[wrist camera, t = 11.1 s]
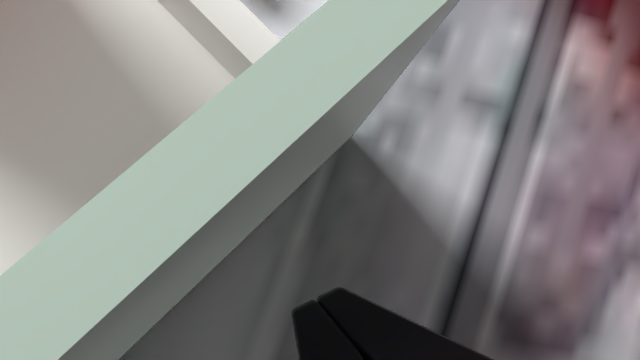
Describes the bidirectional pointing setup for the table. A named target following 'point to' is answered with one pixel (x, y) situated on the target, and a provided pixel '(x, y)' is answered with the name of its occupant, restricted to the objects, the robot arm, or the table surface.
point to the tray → (164, 147)
